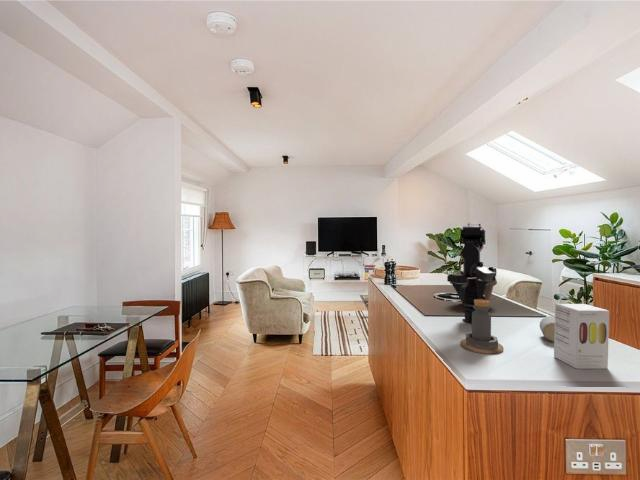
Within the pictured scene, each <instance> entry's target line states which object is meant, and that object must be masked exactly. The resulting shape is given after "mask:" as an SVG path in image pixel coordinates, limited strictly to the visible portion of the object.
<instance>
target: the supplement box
mask: <svg viewBox="0 0 640 480" xmlns="http://www.w3.org/2000/svg"><path fill="white" fill-rule="evenodd" d="M554 305H555V306H554V307H555V308H554V317H555V336H554V342H553V343H554V344H553V345H554V346H553V357H555V358H556V359H558V360H560V361H561V362H563V363H565V364H567V365H569V366H571V367H573V368H574V369H579V370H580V369H583V370H584V369H585V370H587V369H594V370H595V369H597V370H599V369H600V370H601V369H602V370H605V369H608V366H609V364H608V363H609V362H608V361H609V339H610V338H609V337H610V336H609V334H610V329H609V328H610V310H608V309H604V308H603V307H602V308H601V307H597V306H593V305H590V304H586V303H555V304H554Z"/></svg>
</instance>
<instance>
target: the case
mask: <svg viewBox="0 0 640 480" xmlns="http://www.w3.org/2000/svg"><path fill="white" fill-rule="evenodd" d="M461 272H463V270H461V269H460V270H457V273H456V274H461ZM468 278H469V277H468ZM466 284H467V285H468V284H469V280H467V281H466ZM497 284H498V281H497V279H496V277H495V280H494V281H493V282H492V283H490V284H489V285H488V286H487V287H486V290H485V292H484V297H485V298H486V300H488V301H489V303H490V302H491V299H492V298H491V297H492V295H493V294H492V293H493V289H494V287H495V286H496V285H497ZM467 285H466V286H467ZM466 286H465V287H466ZM464 290H465V288H464ZM460 302H461V305H462V306H463V301H461V300H460ZM465 304H466V303H465ZM488 306H490V304H489V305H488Z"/></svg>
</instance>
